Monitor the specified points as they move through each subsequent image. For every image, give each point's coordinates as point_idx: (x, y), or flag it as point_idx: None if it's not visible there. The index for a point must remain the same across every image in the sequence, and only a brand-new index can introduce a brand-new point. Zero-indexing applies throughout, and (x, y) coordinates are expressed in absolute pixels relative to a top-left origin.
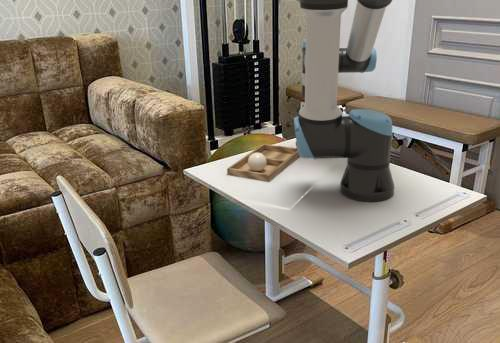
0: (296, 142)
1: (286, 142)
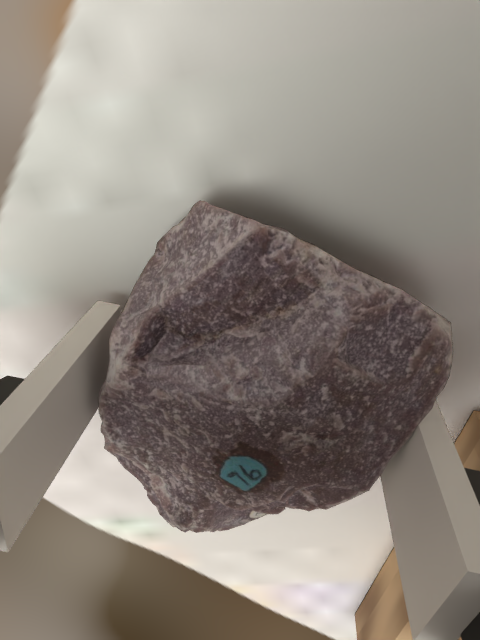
0: (249, 519)
1: (121, 526)
